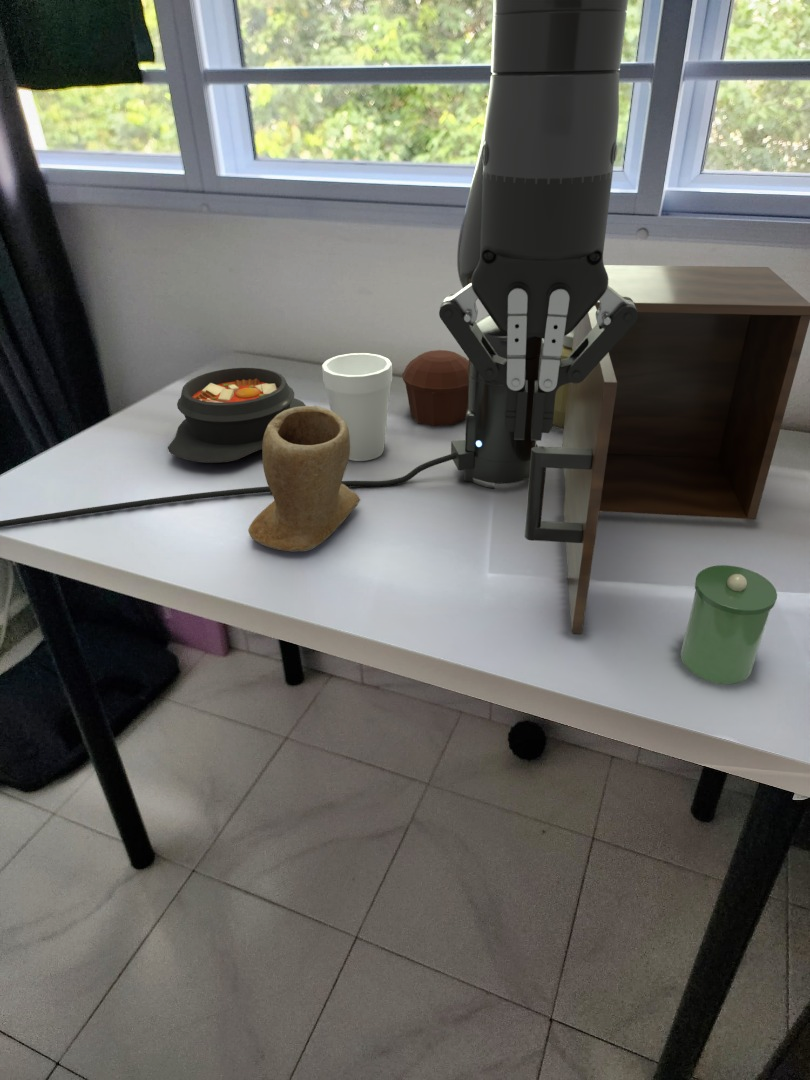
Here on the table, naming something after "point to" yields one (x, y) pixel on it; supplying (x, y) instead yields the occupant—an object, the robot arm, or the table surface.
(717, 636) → the pot
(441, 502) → the table surface
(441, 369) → the muffin
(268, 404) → the casserole
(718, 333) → the cupboard
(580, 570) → the cupboard door
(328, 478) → the stone cup
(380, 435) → the foam cup
